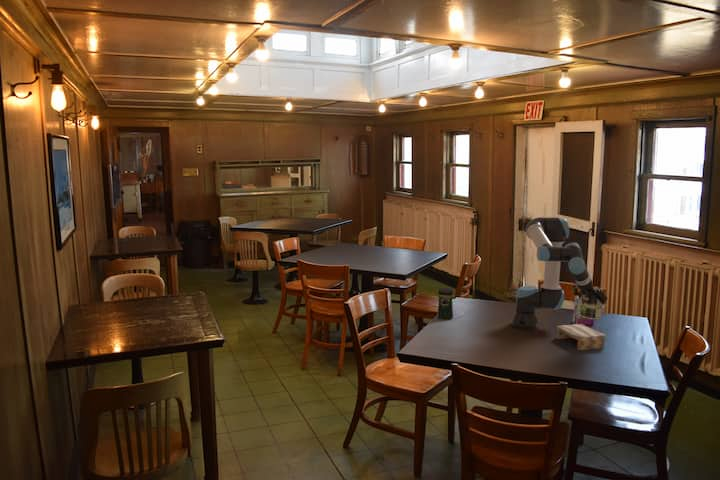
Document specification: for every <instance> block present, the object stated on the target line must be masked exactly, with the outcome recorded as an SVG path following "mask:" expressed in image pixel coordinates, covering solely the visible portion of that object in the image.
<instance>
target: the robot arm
mask: <svg viewBox="0 0 720 480" xmlns="http://www.w3.org/2000/svg"><path fill="white" fill-rule="evenodd" d="M568 222H569V221H567V219H566V218H564V217H542V216H541V217H536V218H532V219H531V220H529V222H528V223H527V224H526V226H525V234H526V236H527V238H529V239H530V240H531V241H532V242H533V244H534V246H535V247H536V249H537V250H536V257H537V258H536V259H537V260H538V261H542V262H544V272H543V283H542V284H541V285H540V287H539V288H538V287H537V286H535V285H532V286H531V285H523V286H520V287H517V289H516V293H515V309H514V310H515V311H514V314H513V316H512V319H511V326H513V327H514V328H516V329H517V328H518V329H521V330H522V329H523V330H535V329H537V328H538V327H539V321H538V318H537V310H560V309H562V307H563V305H564V303H565V292H564V290H563V289H562V287H561V286H560V273H561V262H567V263H568V269H569V271H570V273H571V274H572V276H573V279H574V283H573V285H572V287H573V296H574V297H575V296H578V297H579V299H580V300H581V302H582V294H583V291H584V292H588V293H590V294H591V295H594V296H595V297H596V298H597V299H598V300H599V302H600V305H601V307H602V308H601V310H602V309H603V310H604V309H605V307H606V302H607V300H608V296H607V295H606V294H605V292H604V291H603V292H602V289H601V287H600V286H597V287H595V286H594V283H593V280H592V278H591V275H590V273H589V271H588V268H587V266H586V262H585V258H584V256H583V252H582V248H581V247H580V246H581V245H580V244H578V243H577V242H571V243H567V244H566V245H565V246H563V243H566V239H568V238H569V236H570V226H569V223H568ZM578 290H579V291H578Z"/></svg>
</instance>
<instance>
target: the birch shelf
mask: <svg viewBox="0 0 720 480" xmlns="http://www.w3.org/2000/svg"><path fill="white" fill-rule="evenodd" d="M556 339H558V340H563V339H564V340H565V339H575V340H577V344H576V345H577V346H576V349H577V350H579V351H583V350H585V351H586V350H596V349H604V347H605V339H606V334H604V333H602V332H600V331H598V330H596V329H593V328H591V327H589V326H588V325H583V324H574V323H573V324H563V325H556Z"/></svg>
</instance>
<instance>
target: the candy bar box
mask: <svg viewBox="0 0 720 480" xmlns="http://www.w3.org/2000/svg"><path fill="white" fill-rule="evenodd" d="M581 304H582V302H581V300H580V299H579V297H578V296H577V295H576V296H575V295H574V304H573V305H574V307H573V316H572V322H573V323H572V324H573V325H574V324H583V325H585V326H594V323H595V319H588V318H584V317H582V316H580V313H581Z"/></svg>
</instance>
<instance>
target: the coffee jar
mask: <svg viewBox="0 0 720 480" xmlns="http://www.w3.org/2000/svg"><path fill="white" fill-rule="evenodd" d="M454 296H455V293H454V289H453V288H446V287H440V288H439V289H438V292H437V298H438V304H437V305H438V306H437V314H436V315H437V316H436V317H437V318H438V319H442V320H451V319H453V318H454V307H453V299H454Z"/></svg>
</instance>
